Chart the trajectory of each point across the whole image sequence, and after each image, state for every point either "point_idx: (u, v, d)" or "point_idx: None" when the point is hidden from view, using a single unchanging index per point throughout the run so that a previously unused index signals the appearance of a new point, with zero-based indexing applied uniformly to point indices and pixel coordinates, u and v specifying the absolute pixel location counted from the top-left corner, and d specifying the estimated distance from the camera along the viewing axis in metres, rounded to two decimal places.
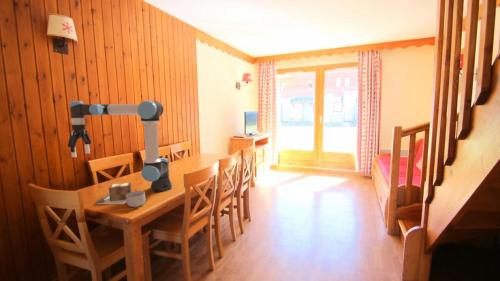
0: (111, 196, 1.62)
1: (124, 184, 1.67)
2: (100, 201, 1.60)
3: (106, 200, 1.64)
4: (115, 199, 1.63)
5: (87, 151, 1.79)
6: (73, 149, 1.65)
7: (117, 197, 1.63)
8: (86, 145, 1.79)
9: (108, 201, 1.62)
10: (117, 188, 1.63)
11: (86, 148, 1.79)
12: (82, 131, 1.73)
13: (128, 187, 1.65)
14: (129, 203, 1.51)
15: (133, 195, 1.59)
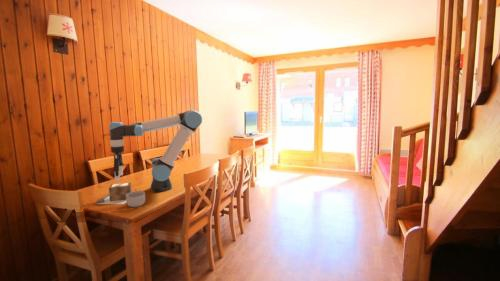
0: (111, 196, 1.62)
1: (124, 184, 1.67)
2: (100, 201, 1.60)
3: (106, 200, 1.64)
4: (115, 199, 1.63)
5: (121, 173, 1.72)
6: (118, 172, 1.58)
7: (117, 197, 1.63)
8: (120, 167, 1.71)
9: (108, 201, 1.62)
10: (117, 188, 1.63)
11: (120, 170, 1.72)
12: (120, 153, 1.66)
13: (128, 187, 1.65)
14: (129, 203, 1.51)
15: (133, 195, 1.59)
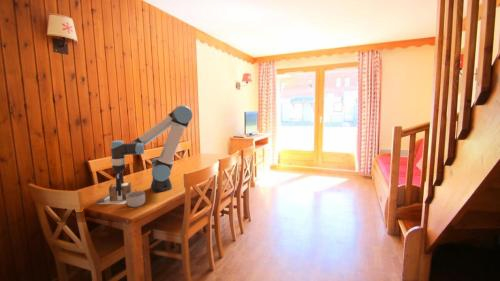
0: (111, 196, 1.62)
1: (124, 184, 1.67)
2: (100, 201, 1.60)
3: (106, 200, 1.64)
4: (115, 199, 1.63)
5: None
6: (120, 192, 1.63)
7: None
8: None
9: (108, 201, 1.62)
10: None
11: None
12: (121, 170, 1.68)
13: (128, 187, 1.65)
14: (129, 203, 1.51)
15: (133, 195, 1.59)
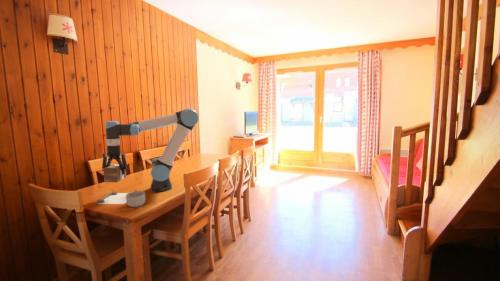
0: (117, 176, 1.61)
1: (117, 165, 1.68)
2: (100, 201, 1.60)
3: (106, 200, 1.64)
4: (119, 179, 1.63)
5: None
6: None
7: None
8: None
9: (108, 201, 1.62)
10: (120, 168, 1.64)
11: None
12: None
13: None
14: (129, 203, 1.51)
15: (133, 195, 1.59)
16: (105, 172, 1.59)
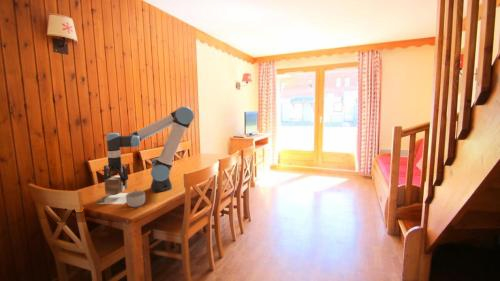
0: (118, 188, 1.62)
1: (118, 176, 1.69)
2: (100, 201, 1.60)
3: (106, 200, 1.64)
4: (120, 190, 1.64)
5: None
6: None
7: (121, 188, 1.65)
8: None
9: (108, 201, 1.62)
10: None
11: None
12: None
13: None
14: (129, 203, 1.51)
15: (133, 195, 1.59)
16: (106, 184, 1.61)
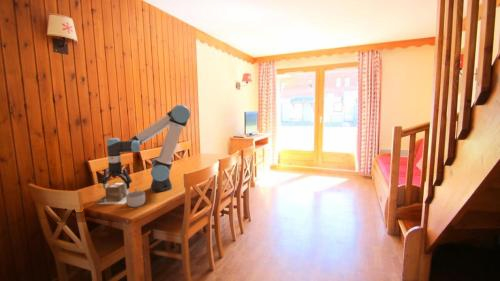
0: (119, 196, 1.63)
1: (118, 183, 1.69)
2: (100, 201, 1.60)
3: None
4: (121, 198, 1.65)
5: None
6: None
7: (121, 195, 1.66)
8: (106, 185, 1.67)
9: None
10: (121, 187, 1.66)
11: None
12: None
13: None
14: (129, 203, 1.51)
15: (133, 195, 1.59)
16: (107, 191, 1.61)
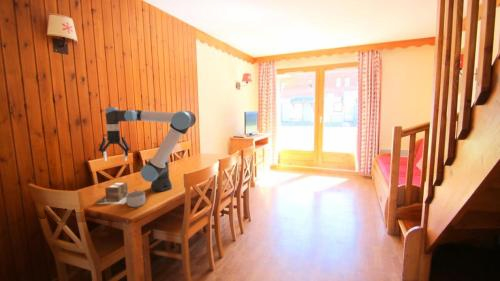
0: (119, 196, 1.63)
1: (118, 183, 1.69)
2: (100, 201, 1.60)
3: None
4: (121, 198, 1.65)
5: (106, 158, 1.75)
6: None
7: (121, 195, 1.66)
8: (105, 152, 1.74)
9: None
10: (121, 187, 1.66)
11: (105, 156, 1.74)
12: None
13: (126, 184, 1.72)
14: (129, 203, 1.51)
15: (133, 195, 1.59)
16: (107, 191, 1.61)
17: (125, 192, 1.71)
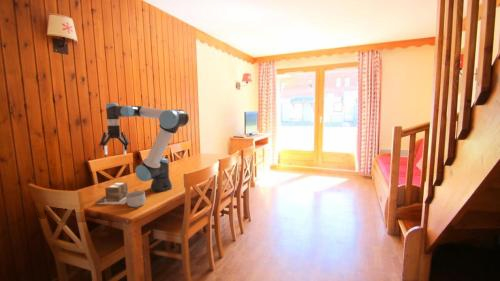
0: (119, 196, 1.63)
1: (118, 183, 1.69)
2: (100, 201, 1.60)
3: None
4: (121, 198, 1.65)
5: (106, 152, 1.82)
6: None
7: (121, 195, 1.66)
8: (106, 146, 1.81)
9: None
10: (121, 187, 1.66)
11: (106, 149, 1.81)
12: None
13: (126, 184, 1.72)
14: (129, 203, 1.51)
15: (133, 195, 1.59)
16: (107, 191, 1.61)
17: (125, 192, 1.71)
